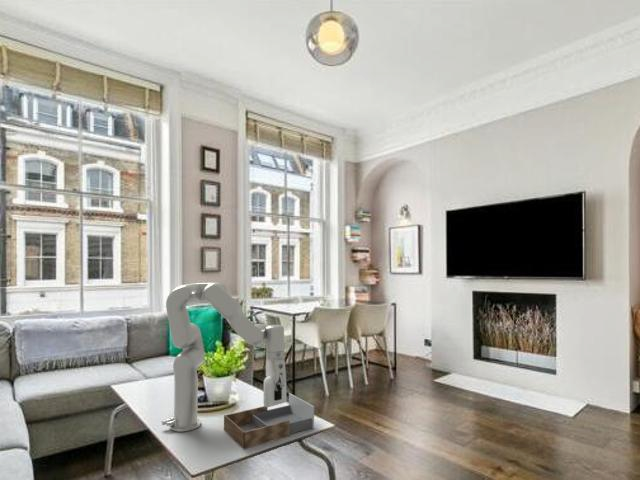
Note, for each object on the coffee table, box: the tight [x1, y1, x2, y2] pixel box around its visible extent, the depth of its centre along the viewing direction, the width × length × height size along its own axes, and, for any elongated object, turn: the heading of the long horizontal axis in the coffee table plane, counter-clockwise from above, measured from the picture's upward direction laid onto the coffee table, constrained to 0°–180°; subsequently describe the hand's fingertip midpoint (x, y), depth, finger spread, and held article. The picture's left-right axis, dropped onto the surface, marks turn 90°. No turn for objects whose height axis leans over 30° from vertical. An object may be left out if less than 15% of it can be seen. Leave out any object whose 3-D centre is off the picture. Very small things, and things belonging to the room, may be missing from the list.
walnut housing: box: [223, 405, 291, 450], centre depth 166 cm, size 20×20×6 cm
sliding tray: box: [250, 392, 315, 435], centre depth 173 cm, size 20×20×9 cm
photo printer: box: [263, 376, 287, 408], centre depth 171 cm, size 10×4×12 cm, turn 129°
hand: (274, 397), depth 171 cm, fingers closed on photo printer, 4 cm apart
